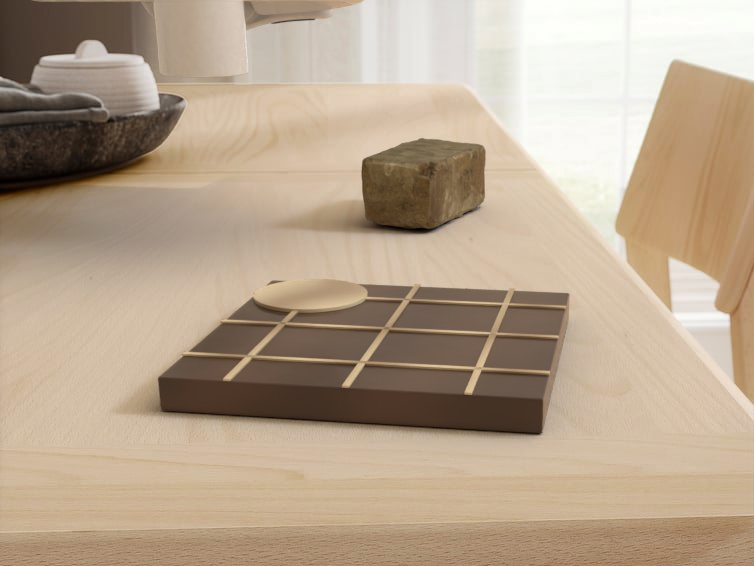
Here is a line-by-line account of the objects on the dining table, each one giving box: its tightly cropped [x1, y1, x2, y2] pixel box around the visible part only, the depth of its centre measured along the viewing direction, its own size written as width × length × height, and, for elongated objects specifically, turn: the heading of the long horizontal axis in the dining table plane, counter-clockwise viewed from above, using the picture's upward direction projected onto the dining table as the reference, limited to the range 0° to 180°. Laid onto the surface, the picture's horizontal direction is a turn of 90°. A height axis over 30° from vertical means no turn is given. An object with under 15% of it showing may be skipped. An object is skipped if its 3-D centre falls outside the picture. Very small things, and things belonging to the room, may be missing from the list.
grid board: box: [157, 278, 570, 434], centre depth 55 cm, size 16×16×2 cm
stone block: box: [360, 137, 487, 230], centre depth 85 cm, size 6×12×5 cm, turn 159°
